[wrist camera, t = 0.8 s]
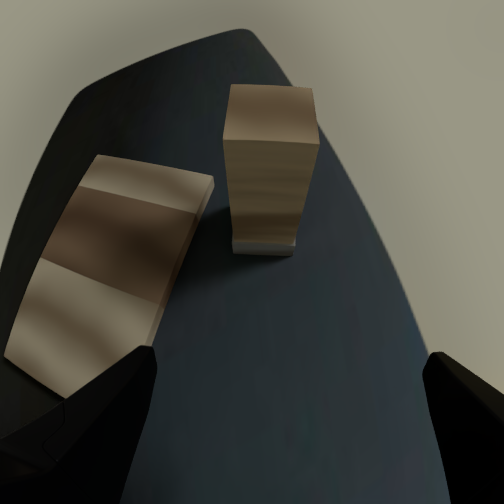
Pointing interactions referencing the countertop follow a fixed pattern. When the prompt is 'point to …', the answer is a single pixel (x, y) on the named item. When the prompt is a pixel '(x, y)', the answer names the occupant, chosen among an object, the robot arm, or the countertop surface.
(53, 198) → the countertop surface
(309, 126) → the tall wooden post
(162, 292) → the subfloor panel
